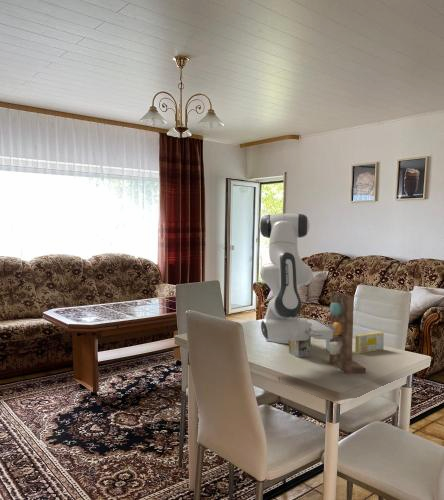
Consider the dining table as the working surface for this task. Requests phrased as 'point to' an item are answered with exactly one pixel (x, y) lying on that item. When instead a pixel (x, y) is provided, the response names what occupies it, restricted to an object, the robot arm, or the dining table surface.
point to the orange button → (337, 328)
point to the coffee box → (300, 347)
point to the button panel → (344, 335)
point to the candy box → (369, 342)
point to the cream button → (335, 348)
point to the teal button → (336, 308)
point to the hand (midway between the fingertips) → (334, 328)
